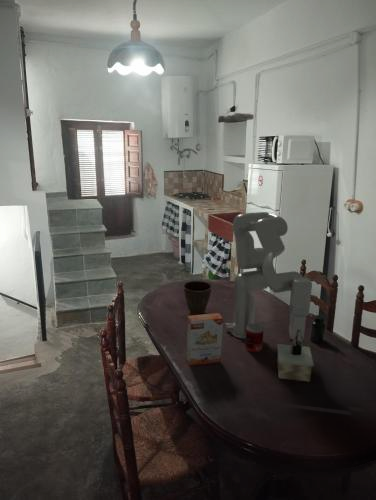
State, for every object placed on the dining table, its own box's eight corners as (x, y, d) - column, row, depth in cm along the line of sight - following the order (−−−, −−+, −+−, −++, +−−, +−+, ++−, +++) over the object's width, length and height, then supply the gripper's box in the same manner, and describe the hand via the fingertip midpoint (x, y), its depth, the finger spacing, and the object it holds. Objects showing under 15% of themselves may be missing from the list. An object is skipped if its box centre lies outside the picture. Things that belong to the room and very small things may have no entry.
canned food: (263, 346, 178) (264, 325, 175) (260, 355, 171) (262, 333, 168) (246, 343, 180) (248, 322, 177) (243, 352, 173) (244, 330, 170)
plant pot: (211, 319, 204) (212, 291, 200) (183, 318, 205) (183, 290, 200) (210, 307, 219) (211, 281, 215) (183, 307, 219) (184, 280, 215)
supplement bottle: (325, 344, 181) (328, 321, 178) (310, 342, 182) (312, 319, 179) (323, 337, 188) (326, 314, 184) (308, 335, 189) (311, 313, 186)
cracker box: (189, 366, 161) (190, 321, 155) (186, 359, 167) (187, 315, 161) (221, 362, 164) (223, 318, 159) (217, 355, 170) (218, 312, 164)
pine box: (278, 380, 153) (280, 362, 151) (276, 363, 164) (278, 347, 162) (309, 383, 151) (311, 365, 149) (305, 366, 163) (307, 349, 160)
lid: (278, 362, 150) (280, 344, 148) (277, 346, 163) (278, 328, 161) (313, 366, 148) (315, 347, 146) (308, 349, 161) (310, 331, 159)
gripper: (287, 299, 159) (284, 337, 163) (291, 317, 142) (287, 358, 147) (306, 301, 158) (302, 338, 162) (312, 319, 141) (307, 360, 146)
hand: (295, 348), depth 155 cm, fingers open, 9 cm apart
